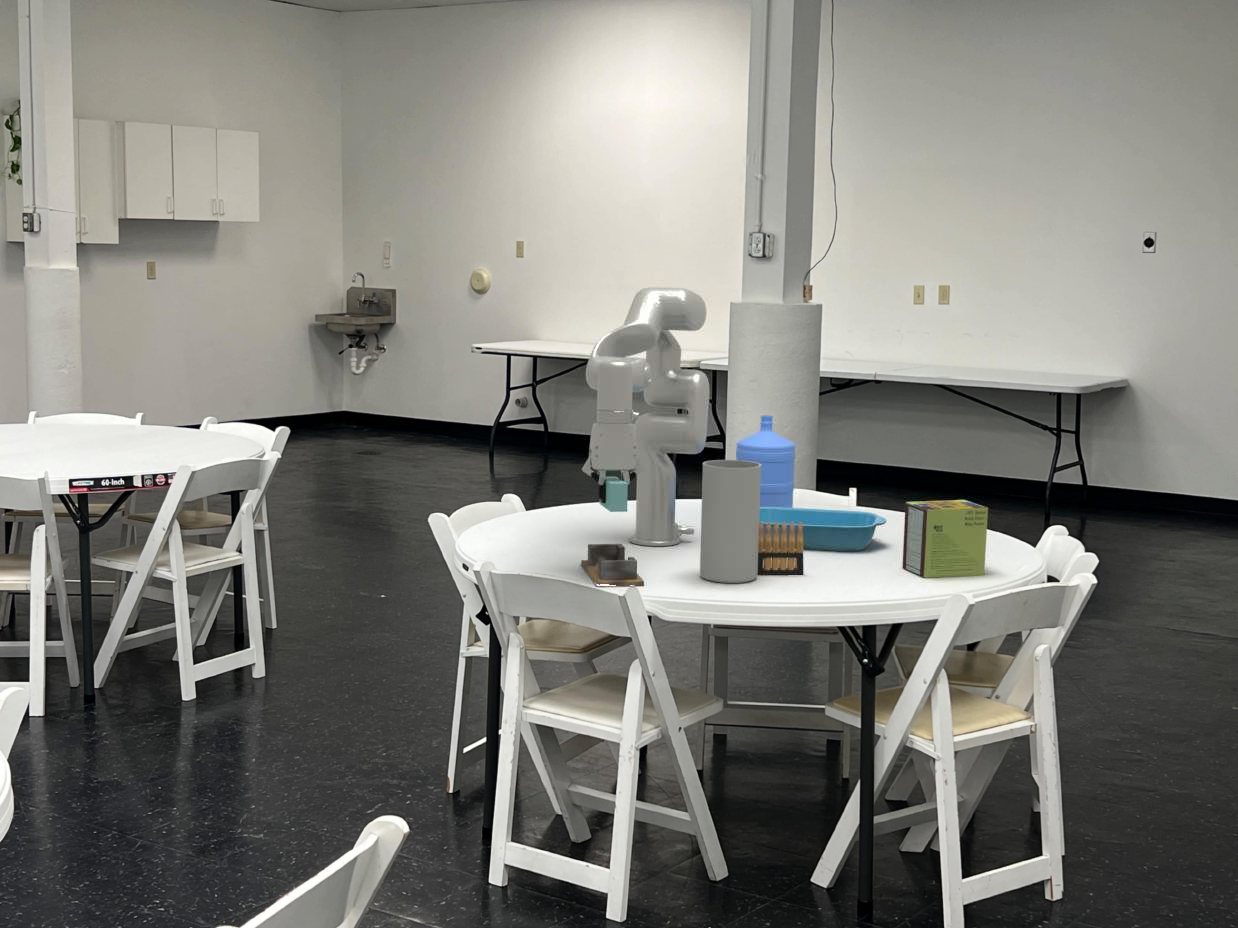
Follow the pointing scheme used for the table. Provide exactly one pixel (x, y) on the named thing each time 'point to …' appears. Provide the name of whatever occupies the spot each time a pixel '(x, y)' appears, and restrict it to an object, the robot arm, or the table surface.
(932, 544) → the protein box
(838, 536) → the casserole dish
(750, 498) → the cylinder vase
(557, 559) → the table surface
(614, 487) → the teal long block
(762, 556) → the ammunition clip
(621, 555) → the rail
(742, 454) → the water jug
